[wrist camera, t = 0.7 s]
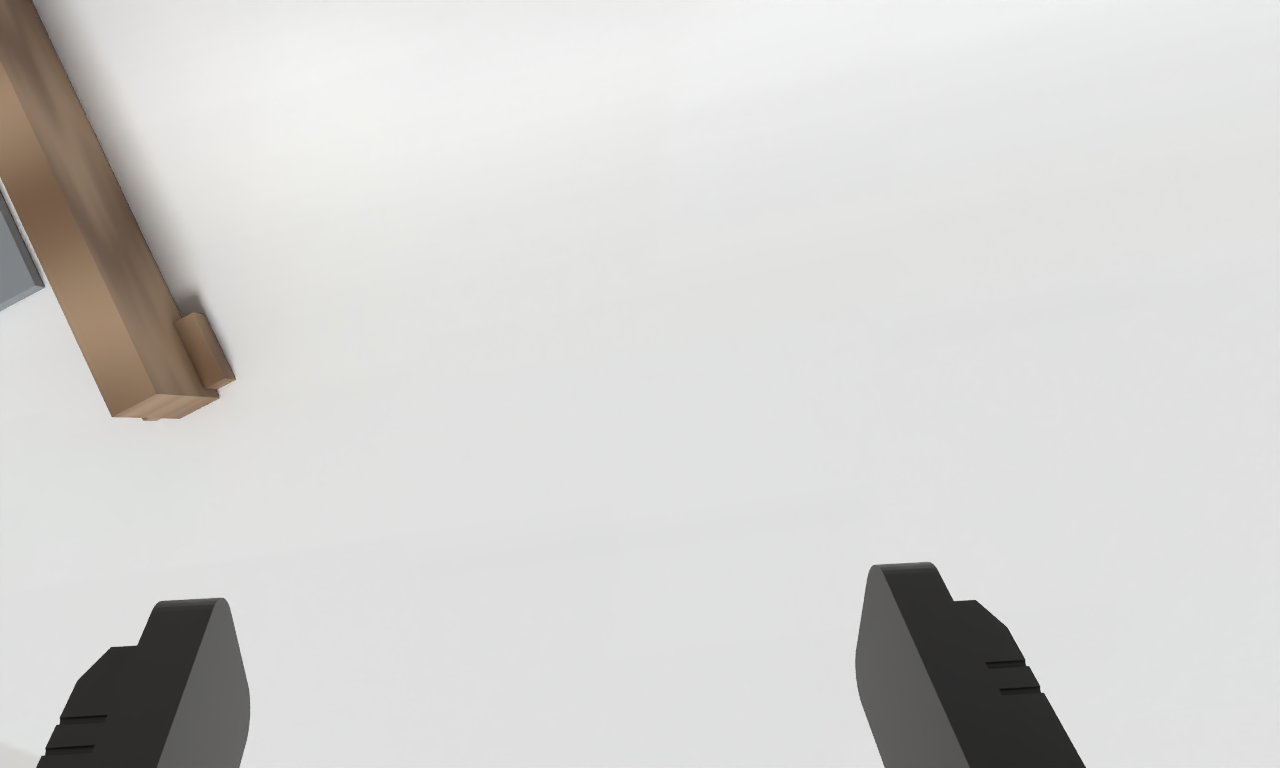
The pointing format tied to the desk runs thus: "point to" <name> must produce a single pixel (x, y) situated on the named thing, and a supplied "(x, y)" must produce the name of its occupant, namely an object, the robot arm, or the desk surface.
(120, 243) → the walnut fence
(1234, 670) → the desk surface
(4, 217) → the mat
